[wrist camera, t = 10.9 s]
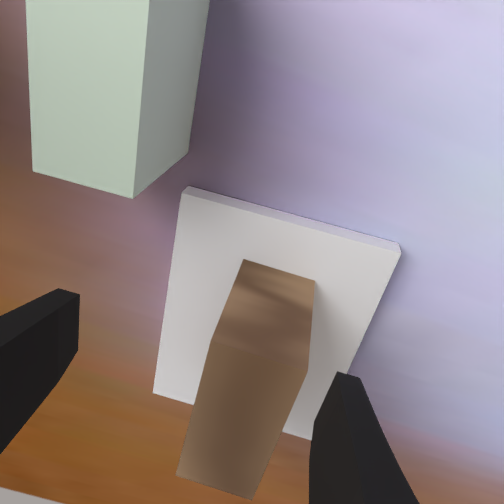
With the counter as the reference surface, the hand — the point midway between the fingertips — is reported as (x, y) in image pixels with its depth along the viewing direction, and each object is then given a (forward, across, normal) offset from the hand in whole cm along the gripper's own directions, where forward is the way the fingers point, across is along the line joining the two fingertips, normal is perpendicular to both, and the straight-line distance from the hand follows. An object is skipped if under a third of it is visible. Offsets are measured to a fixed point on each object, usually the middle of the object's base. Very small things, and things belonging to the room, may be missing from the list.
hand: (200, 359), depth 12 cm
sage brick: (+10, +6, -6) cm, 13 cm away
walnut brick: (+9, -2, +6) cm, 10 cm away
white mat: (+10, -2, +6) cm, 11 cm away
